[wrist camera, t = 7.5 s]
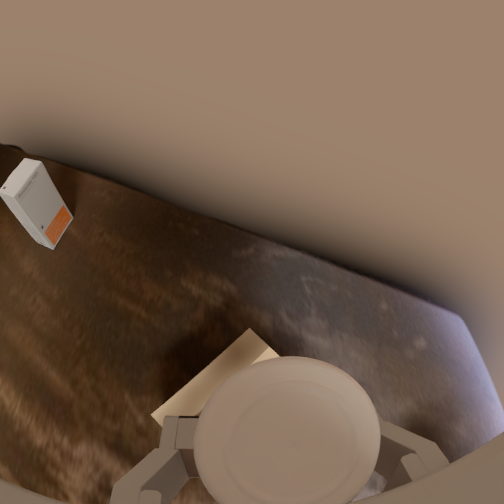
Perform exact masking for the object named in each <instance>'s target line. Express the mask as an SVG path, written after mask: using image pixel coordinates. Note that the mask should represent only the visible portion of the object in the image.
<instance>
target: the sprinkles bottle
mask: <svg viewBox="0 0 504 504" xmlns="http://www.w3.org/2000/svg"><path fill="white" fill-rule="evenodd" d="M380 438H381V435H380V426H379V421H378V416H377V414H376V411H375V408H374V406H373V404H372V402H371V400H370V398H369V396H368V395H367V393H366V392H365V391H364V389H363V388H362V387H361V386H360V385H359V384H358V383H357V381H356V380H355V379H353V378H352V377H351V376H350V375H348V374H347V373H345V372H344V371H342V370H341V369H339V368H337V367H336V366H333V365H331V364H329V363H326V362H323V361H320V360H317V359H312V358H307V357H300V356H285V357H277V358H271V359H267V360H263V361H259V362H257V363H254V364H252V365H249V366H247V367H245V368H243V369H241V370H240V371H238V372H237V373H235V374H233V375H232V376H230V377H229V378H228V379H227V380H225V381H224V382H223V383H222V384H221V385H220V386H219V387H218V388H217V389H216V390H215V391H214V393H213V394H212V395H211V397H210V398H209V399H208V401H207V402H206V404H205V406H204V407H203V409H202V412H201V414H200V416H199V418H198V421H197V424H196V429H195V434H194V442H193V448H194V459H195V463H196V467H197V470H198V473H199V476H200V478H201V480H202V482H203V484H204V486H205V487H206V489H207V490H208V492H209V493H210V494H211V496H212V497H213V498H214V499H215V500H216V501H217V502H218V503H219V504H347V503H350V502H351V501H352V500H353V499H354V498H355V497H356V496H357V495H358V494H359V492H360V491H361V490H362V489H363V487H364V486H365V485H366V483H367V481H368V480H369V478H370V476H371V475H372V473H373V470H374V468H375V465H376V462H377V458H378V454H379V449H380Z"/></svg>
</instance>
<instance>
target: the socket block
mask: <svg viewBox="0 0 504 504" xmlns="http://www.w3.org/2000/svg"><path fill="white" fill-rule="evenodd" d="M277 357H280V356H279V355H278V354H277V353H276V352H275V351H273V350H272V349H271V348H270V347H269V346H268V345H267V344H266V343H265V342H264V341H263V340H262V339H261V338H260V337H259V336H258V335H256V334H255V333H254V332H253V331H252V330H251V329H250V328H249V329H248V330H246V331H245V332H244V333H243V334H242V335H241V336H240V337H239V338H238V339H237V340H236V341H235V342H233V343H232V344H231V345H230V346H229V347H228V348H227V349H226V350H225V351H224V352H223V353H221V354H220V355H219V356H218V357H217V358H216V359H215V360H214V361H213V362H211V363H210V364H209V365H208V366H207V367H206V368H205V369H204V370H202V371H201V372H200V373H199V374H198V375H197V376H196V377H194V378H193V379H192V380H191V381H190V382H189V383H188V384H186V385H185V386H184V387H183V388H182V389H181V390H179V391H178V392H177V393H176V394H175V395H174V396H172V397H171V398H170V399H169V400H168V401H167V402H165V403H164V404H163V405H162V406H161V407H159V408H158V409H157V410H156V411H155V412H153V413H152V414H151V415H152V417H153V418H154V419H155V420H156V421H157V422H158V423H159V424H160V425H161V427H162V426H163V420H164V417H165V416H166V415H169V416H200V414H201V412H202V409H203V407H204V406H205V404H206V402H207V401H208V399H209V398H210V397H211V395H212V394H213V393H214V391H215V390H216V389H217V388H218V387H219V386H220V385H221V384H222V383H223V382H224V381H225V380H227V379H228V378H229V377H230V376H232V375H233V374H235V373H237V372H238V371H240V370H241V369H243V368H245V367H247V366H249V365H252V364H254V363H257V362H259V361H263V360H267V359H271V358H277Z"/></svg>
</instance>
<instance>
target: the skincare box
mask: <svg viewBox="0 0 504 504" xmlns="http://www.w3.org/2000/svg"><path fill="white" fill-rule="evenodd" d="M0 196H1V197H2V199H3V200H4V201H5V203H6V204H7V205H8V207H9V208H10V210H11V211H12V212H13V213H14V215H15V216H16V217H17V219H18V220H19V221H20V223H21V224H22V225H23V226H24V227H25V229H26V230H27V231H28V232H29V234H30V235H31V236H32V237H33V239H34V240H35V241H36V242H37V243H39V244H41V245H44V246H46V247H48V248H50V249H52V250H54V249H55V247H56V245H57V243H58V242H59V240H60V238H61V237H62V235H63V233H64V232H65V230H66V229H67V227H68V226H69V224H70V223H71V221H72V220H73V216H72V214H71V213H70V211H69V210H68V208H67V206H66V205H65V203H64V201H63V199H62V198H61V196H60V194H59V193H58V191H57V189H56V187H55V186H54V184H53V182H52V180H51V178H50V176H49V175H48V173H47V171H46V169H45V167H44V165H43V163H42V162H41V161H36V160H32V159H27V158H24V159H23V161H22V162H21V163H20V164H19V166H18V167H17V168H16V169H15V170H14V171H13V172H12V173H11V175H10V176H9V177H8V179H7V181H6V182H5V183H4V185H3V186H2V187H1V189H0Z"/></svg>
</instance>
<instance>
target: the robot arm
mask: <svg viewBox="0 0 504 504" xmlns="http://www.w3.org/2000/svg"><path fill="white" fill-rule="evenodd" d="M375 411H376V409H375ZM376 414H377V416H378V421H379V426H380V435H381V438H380V449H379V454H378V458H377V462H376V465H375V468H374V471H376V472H377V473H379V474H380V475H382V476H383V477H385V478H386V479H388V480H389V481H388V483H387V485H386V486H385V488H384V490H383V491H382V493H380V494H377V495H374V496H371V497H368V498H364V499H361V500H358V501H354V502H351V503H347V504H504V432H502V433H501V434H499V435H498V436H496V437H495V438H493V439H492V440H490V441H489V442H487V443H485V444H484V445H482V446H481V447H479V448H477V449H476V450H474V451H472V452H470V453H469V454H467V455H465V456H463V457H462V458H460V459H458V460H456V461H454V462H452V463H449V461H448V460H447V458H446V457H445V456H444V454H443V453H442V451H441V450H440V449H439V447H438V446H437V444H436V443H435V442H432V441H430V440H428V439H425V438H423V437H421V436H418V435H416V434H414V433H412V432H409V431H407V430H405V429H403V428H400V427H398V426H396V425H394V424H392V423H390V422H388V421H386V422H383V420H382V419H381V417H380V416H379V414H378V412H377V411H376ZM198 418H199V416H169V415H166V416H165V417H164V420H163V426H162V432H161V439H160V445H159V449H157V448H155V449H154V450H153V451H152V452H150V453H149V454H148V455H147V456H146V457H145V458H144V459H143V460H142V461H140V462H139V463H138V464H137V465H136V466H135V467H134V468H133V469H131V470H130V471H129V472H128V473H127V474H126V475H124V476H123V477H122V478H121V479H120V480H119V481H117V482H116V483H115V484H114V486H113V490H112V495H111V499H110V503H109V504H170V503H171V501H172V500H173V499H174V498H175V496H176V495H177V494H178V492H179V491H180V490H181V489H182V487H183V486H184V485H185V483H186V482H187V481H188V480H189V477H200V476H199V473H198V470H197V467H196V463H195V459H194V448H193V442H194V434H195V429H196V424H197V421H198ZM0 504H69V503H65V502H62V501H59V500H55V499H52V498H49V497H46V496H43V495H40V494H38V493H35V492H32V491H29V490H27V489H24V488H22V487H19V486H17V485H14V484H12V483H10V482H8V481H5V480H3V479H1V478H0Z"/></svg>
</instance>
